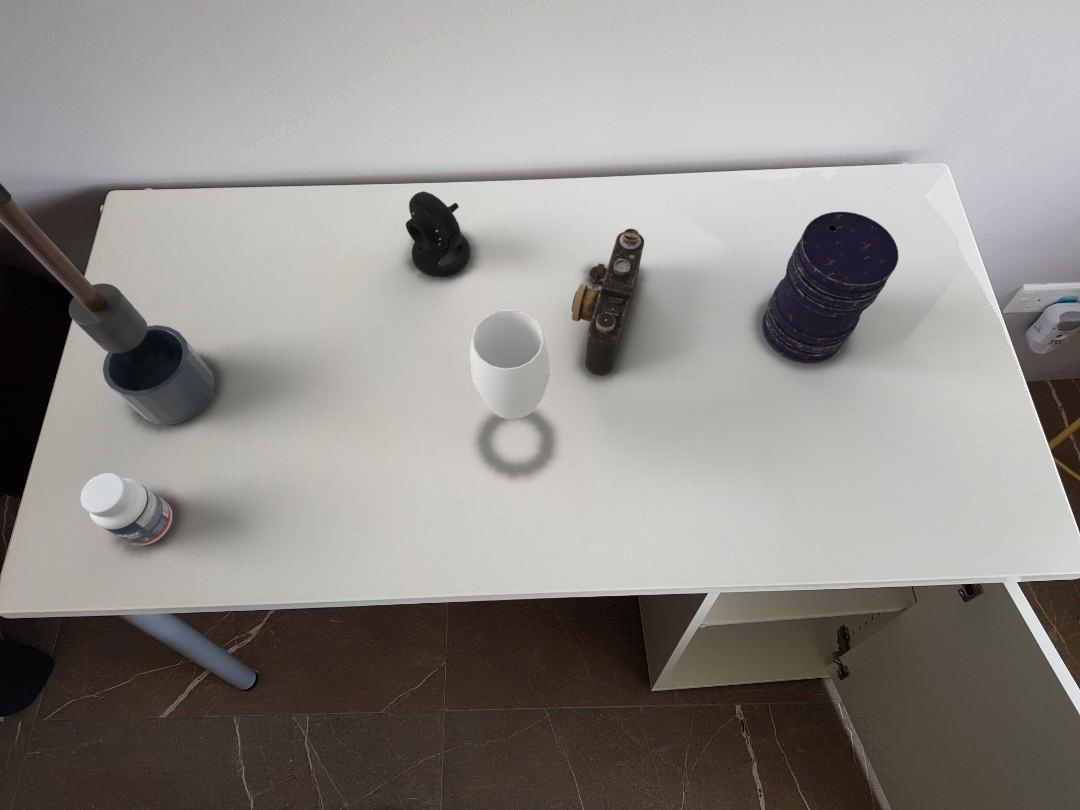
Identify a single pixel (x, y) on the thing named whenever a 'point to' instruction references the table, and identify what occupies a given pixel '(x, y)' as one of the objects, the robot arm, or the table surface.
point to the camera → (609, 301)
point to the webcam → (435, 235)
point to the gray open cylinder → (161, 377)
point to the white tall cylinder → (509, 363)
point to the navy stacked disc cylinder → (828, 285)
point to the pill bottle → (126, 508)
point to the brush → (81, 288)
